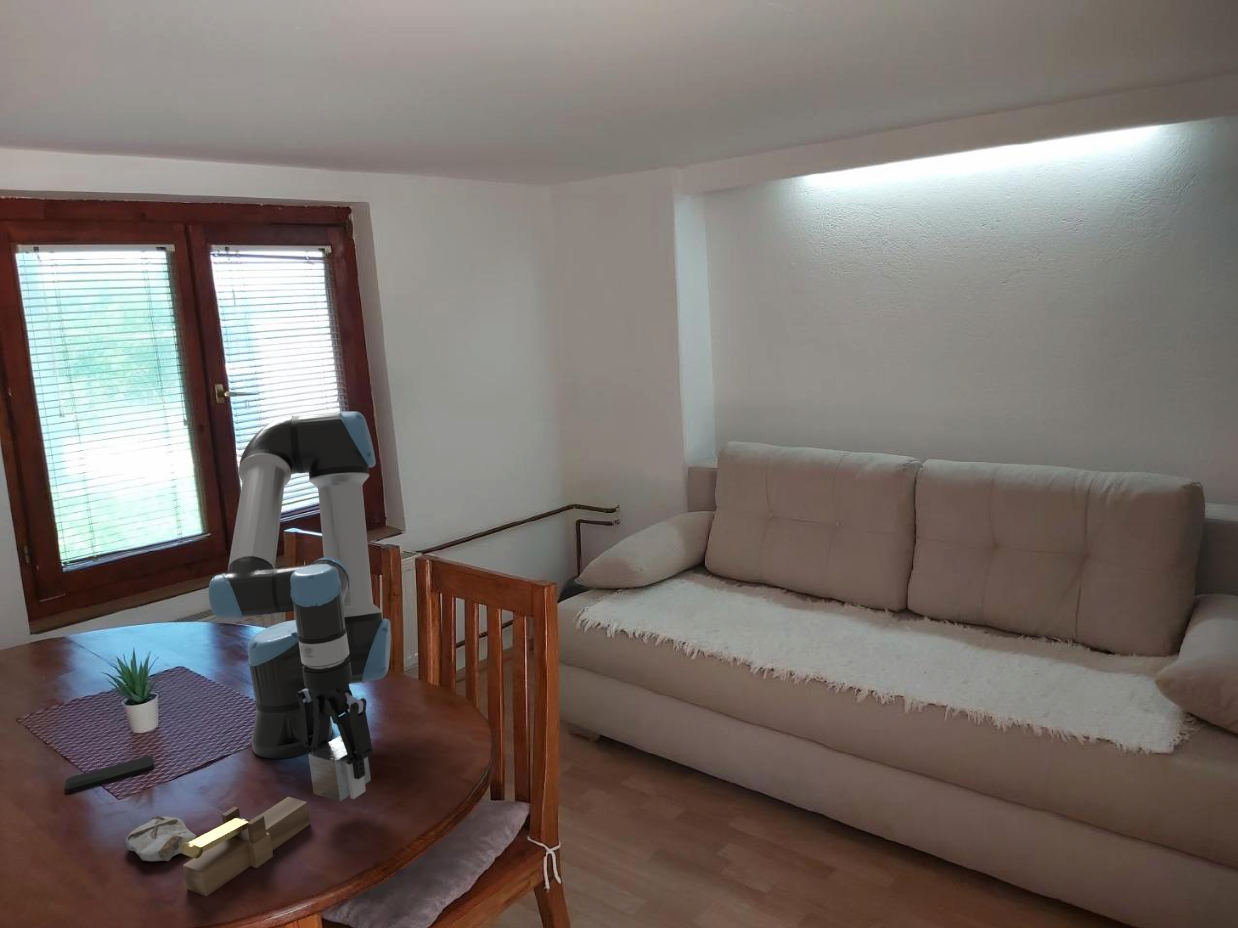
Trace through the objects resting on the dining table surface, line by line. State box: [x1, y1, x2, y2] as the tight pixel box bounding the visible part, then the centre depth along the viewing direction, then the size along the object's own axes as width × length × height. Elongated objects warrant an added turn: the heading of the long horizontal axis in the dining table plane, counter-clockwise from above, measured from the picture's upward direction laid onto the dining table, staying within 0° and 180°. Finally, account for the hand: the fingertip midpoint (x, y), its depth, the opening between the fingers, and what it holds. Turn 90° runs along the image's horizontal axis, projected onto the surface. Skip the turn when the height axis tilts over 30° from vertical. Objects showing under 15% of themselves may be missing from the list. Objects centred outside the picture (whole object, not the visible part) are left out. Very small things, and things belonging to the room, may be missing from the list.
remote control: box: [64, 755, 156, 795], centre depth 174 cm, size 5×2×15 cm
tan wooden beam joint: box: [182, 796, 311, 898], centre depth 145 cm, size 7×20×7 cm, turn 151°
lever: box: [179, 816, 250, 859], centre depth 140 cm, size 4×2×11 cm
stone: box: [125, 815, 197, 862], centre depth 150 cm, size 12×9×3 cm
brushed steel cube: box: [308, 735, 372, 802], centre depth 153 cm, size 6×7×7 cm
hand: (343, 790), depth 154 cm, fingers closed on brushed steel cube, 6 cm apart
